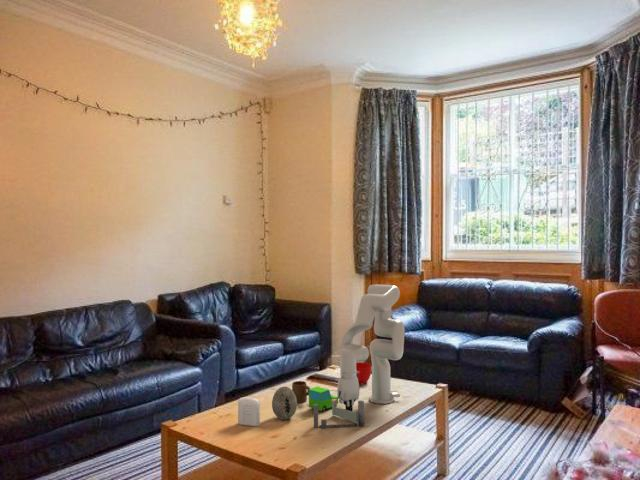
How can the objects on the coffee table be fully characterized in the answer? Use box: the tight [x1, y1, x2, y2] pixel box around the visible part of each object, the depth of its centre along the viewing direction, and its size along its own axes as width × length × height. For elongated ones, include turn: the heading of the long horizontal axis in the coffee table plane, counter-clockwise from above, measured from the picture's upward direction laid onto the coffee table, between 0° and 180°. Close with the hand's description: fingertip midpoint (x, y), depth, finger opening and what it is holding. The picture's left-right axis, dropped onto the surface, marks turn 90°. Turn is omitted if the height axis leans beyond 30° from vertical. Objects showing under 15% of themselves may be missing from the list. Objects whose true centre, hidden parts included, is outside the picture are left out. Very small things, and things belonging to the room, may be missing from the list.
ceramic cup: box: [356, 362, 372, 385], centre depth 288 cm, size 13×17×10 cm
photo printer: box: [237, 396, 261, 427], centre depth 227 cm, size 10×4×12 cm, turn 72°
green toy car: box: [308, 386, 339, 413], centre depth 248 cm, size 10×13×10 cm
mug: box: [291, 380, 311, 404], centre depth 257 cm, size 12×8×9 cm, turn 44°
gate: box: [331, 399, 358, 424], centre depth 231 cm, size 16×2×7 cm, turn 43°
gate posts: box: [312, 400, 366, 430], centre depth 223 cm, size 23×4×11 cm, turn 91°
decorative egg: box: [271, 386, 298, 420], centre depth 234 cm, size 12×12×15 cm
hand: (349, 413), depth 233 cm, fingers closed
